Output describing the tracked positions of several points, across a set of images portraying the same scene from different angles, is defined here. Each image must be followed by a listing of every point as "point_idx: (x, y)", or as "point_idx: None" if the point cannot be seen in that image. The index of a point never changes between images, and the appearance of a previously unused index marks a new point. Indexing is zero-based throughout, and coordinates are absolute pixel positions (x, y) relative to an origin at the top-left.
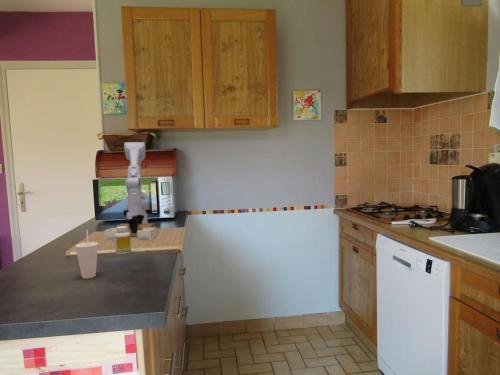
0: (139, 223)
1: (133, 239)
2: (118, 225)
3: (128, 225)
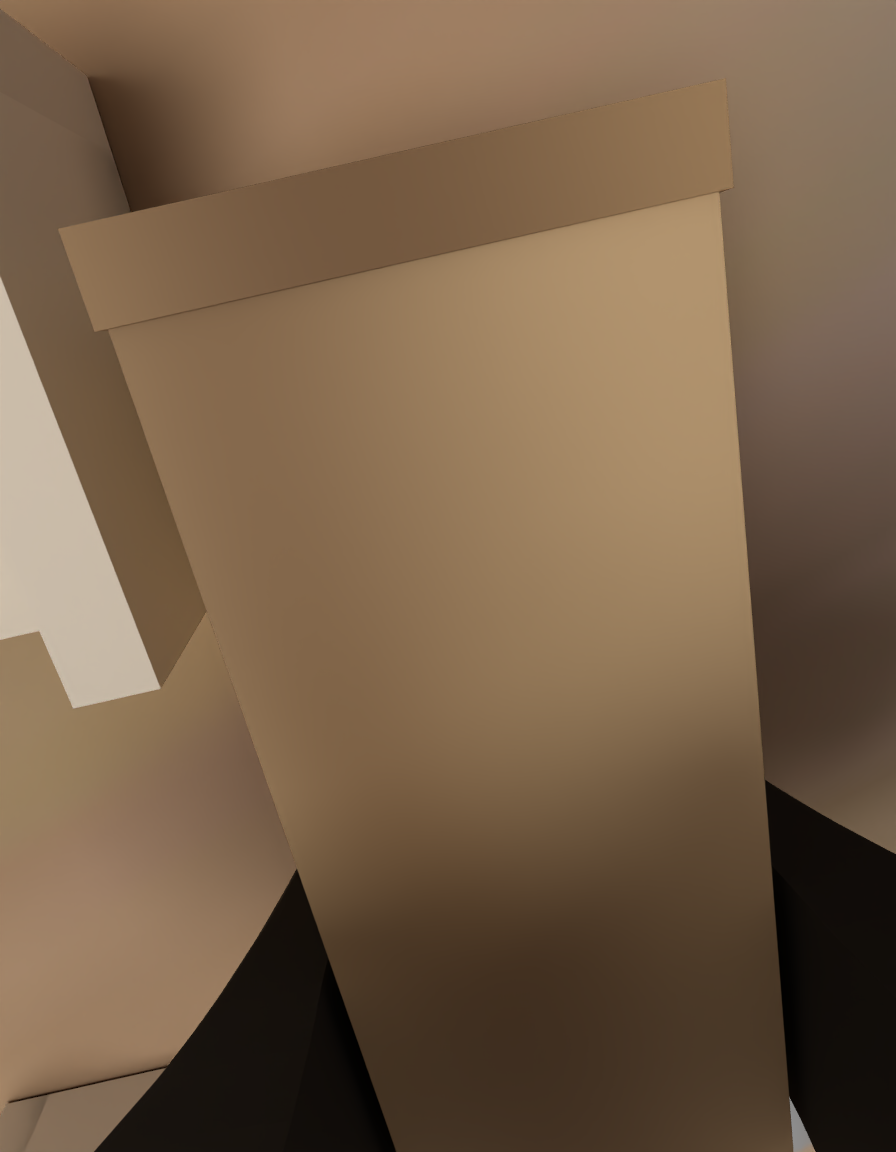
0: (804, 1096)
1: (19, 992)
2: (123, 347)
3: (311, 903)
